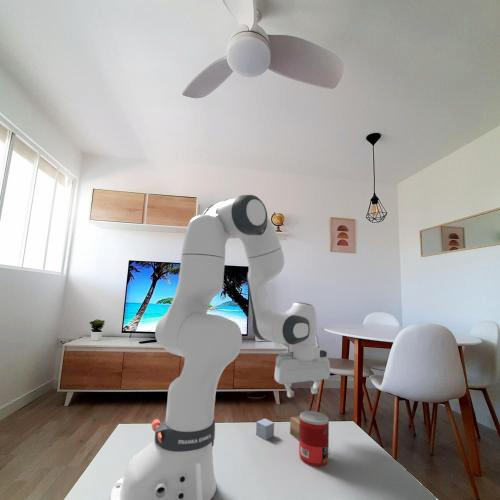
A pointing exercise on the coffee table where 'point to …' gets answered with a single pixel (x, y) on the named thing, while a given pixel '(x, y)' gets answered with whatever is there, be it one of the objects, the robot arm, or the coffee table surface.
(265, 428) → the slate block
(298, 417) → the tan cube
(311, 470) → the coffee table surface
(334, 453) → the coffee table surface
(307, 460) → the canned food
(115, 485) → the robot arm
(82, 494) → the coffee table surface
